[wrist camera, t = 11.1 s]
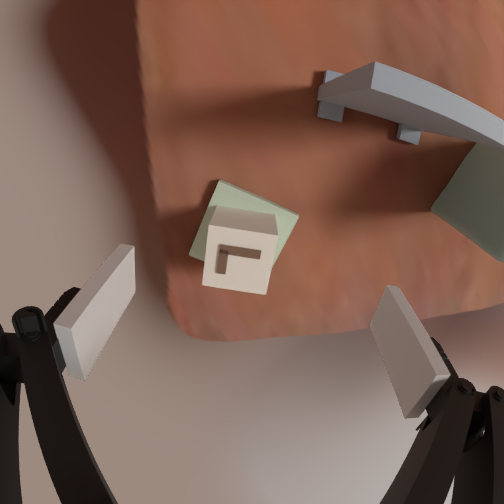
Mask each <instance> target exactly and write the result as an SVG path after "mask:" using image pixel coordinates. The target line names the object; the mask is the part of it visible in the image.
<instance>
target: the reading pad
mask: <svg viewBox="0 0 504 504" xmlns="http://www.w3.org/2000/svg"><path fill="white" fill-rule="evenodd" d="M217 205H219V206H226V207H233V208H239V209H246V210H252V211H258V212H264V213H270V214H275V217H276V223H277V229H278V241H277V245H276V250H275V255H274V260H273V264H272V267H273V265H274V263H275V261H276V259H277V257H278V256H279V254H280V252H281V250H282V248H283V246H284V244H285V242H286V241H287V239H288V237H289V235H290V233H291V231H292V229H293V227H294V226H295V224H296V222H297V220H298V218H299V215H298V213H296V212H293V211H291V210H289V209H287V208H285V207H283V206H280V205H278V204H276V203H274V202H271V201H269V200H267V199H265V198H262V197H260V196H258V195H256V194H253V193H251V192H249V191H247V190H244V189H242V188H240V187H237V186H235V185H233V184H230V183H228V182H226V181H223V180H221V179H220V180H219V182H218V184H217V187H216V189H215V191H214V194H213V196H212V198H211V201H210V203H209V206H208V208H207V210H206V213H205V215H204V218H203V220H202V222H201V225H200V227H199V230H198V232H197V235H196V237H195V240H194V242H193V245H192V247H191V250H190V252H189V255H190V256H192V257H194V258H197V259H199V260H202V261H204V262H205V254H206V245H207V236H208V227H209V223H210V221H211V219H212V216H213V214H214V212H215V209H216V207H217Z"/></svg>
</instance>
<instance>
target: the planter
mask: <svg viewBox="0 0 504 504" xmlns="http://www.w3.org/2000/svg"><path fill="white" fill-rule="evenodd" d="M431 212H433V213H434V214H435V215H437V216H438V217H440V218H441V219H443V220H444V221H446V222H447V223H448V224H450V225H451V226H453V227H454V228H455V229H457V230H458V231H459V232H461V233H462V234H464V235H465V236H466V237H468V238H469V239H470V240H472V241H473V242H474V243H475V244H477V245H478V246H479V247H481V248H482V249H483V250H485V251H486V252H487V253H488V254H490V255H491V256H492V257H494V258H495V259H496V260H498V261H501V262H504V150H503V149H499V148H496V147H492V146H488V145H484V144H481V143H477V142H476V144H475V145H474V146H473V148H472V149H471V150H470V152H469V153H468V154H467V156H466V157H465V158H464V160H463V162H462V163H461V165H460V166H459V168H458V169H457V171H456V172H455V174H454V175H453V177H452V178H451V180H450V181H449V183H448V184H447V186H446V187H445V189H444V190H443V191H442V193H441V194H440V195H439V197H438V198H437V199H436V201H435V202H434V203H433V205H432V206H431Z"/></svg>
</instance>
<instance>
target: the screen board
mask: <svg viewBox="0 0 504 504" xmlns="http://www.w3.org/2000/svg"><path fill="white" fill-rule="evenodd" d="M317 100H318V101H319V107H318V112H317V117H320V118H325V119H329V120H333V121H337V122H342V118H343V113H344V108H345V107H346V108H350V109H353V110H357V111H361V112H364V113H368V114H371V115H374V116H378V117H381V118H384V119H387V120H390V121H393V122H396V123H399V126H398V131H397V135H396V138H397V139H400V140H403V141H406V142H409V143H412V144H415V145H418V144H419V140H420V135H421V131H424V132H430V133H435V134H440V135H445V136H450V137H455V138H459V139H464V140H468V141H472V142H477V143H481V144H484V145H488V146H492V147H496V148H499V149H503V150H504V121H503V120H502V119H500V118H498V117H497V116H495V115H493V114H492V113H490V112H488V111H486V110H485V109H483V108H481V107H479V106H477V105H475V104H474V103H472V102H470V101H468V100H466V99H464V98H462V97H460V96H458V95H456V94H454V93H452V92H450V91H448V90H446V89H443V88H441V87H439V86H437V85H435V84H432V83H430V82H428V81H426V80H423V79H421V78H418V77H416V76H413V75H411V74H408V73H406V72H403V71H401V70H398V69H395V68H393V67H390V66H387V65H384V64H381V63H378V62H373V63H370V64H368V65H365V66H363V67H360V68H358V69H356V70H353V71H351V72H349V73H346V74H341V73H338V72H334V71H330V70H326V71H325V74H324V79H323V84H322V85H320V86H319V90H318V96H317Z"/></svg>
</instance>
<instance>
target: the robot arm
mask: <svg viewBox="0 0 504 504" xmlns="http://www.w3.org/2000/svg"><path fill="white" fill-rule="evenodd" d="M134 293H135V260H134V246H131V245H125V244H120V245H119V246H118V247H117V248H116V250H115V251H114V252H113V253H112V254H111V255H110V256H109V257H108V258H107V259H106V261H105V262H104V263H103V264H102V265H101V266H100V267H99V269H98V270H97V271H96V272H95V273H94V274H93V276H92V277H91V278H90V279H89V280H88V282H87V283H86V284H85V285H84V286H83V287H82V288H81V289H80V288H76V287H73V288H71V289H69V290H68V291H66V292H64V294H63V295H62V296H61V297H60V298H59V300H57V302H56V303H55V304H54V306H52V307H51V309H50V310H49V311H48V312H47V313H46V315H45V316H44V314H43V312H42V310H41V309H39V308H38V307H34V306H27V307H24V308H21V309H19V310H18V311H16V312H15V313H14V315H13V316H12V323H13V326H14V329H15V332H16V333H4V331H3V328H2V326H1V324H0V504H22V496H21V486H20V472H19V445H18V431H19V428H18V427H19V403H20V390H21V383H24V384H25V388H26V394H27V398H28V403H29V407H30V411H31V415H32V419H33V423H34V427H35V430H36V434H37V437H38V441H39V444H40V447H41V450H42V454H43V457H44V460H45V462H46V465H47V468H48V471H49V474H50V476H51V479H52V482H53V484H54V487H55V489H56V492H57V494H58V496H59V498H60V501H61V503H62V504H118V503H117V501H116V499H115V497H114V496H113V494H112V492H111V490H110V488H109V486H108V485H107V483H106V481H105V479H104V477H103V475H102V473H101V471H100V469H99V467H98V465H97V463H96V461H95V459H94V456H93V454H92V452H91V450H90V447H89V445H88V443H87V441H86V438H85V436H84V434H83V431H82V429H81V426H80V424H79V421H78V419H77V416H76V413H75V411H74V408H73V405H72V403H71V400H70V397H69V394H68V391H67V388H66V385H65V382H64V379H63V376H62V372H63V370H64V368H65V367H66V368H67V371H68V374H69V376H71V377H74V378H77V379H80V380H83V381H85V380H86V378H87V376H88V374H89V373H90V371H91V369H92V367H93V365H94V363H95V361H96V360H97V358H98V356H99V354H100V352H101V350H102V349H103V347H104V345H105V343H106V341H107V340H108V338H109V336H110V334H111V333H112V331H113V329H114V327H115V326H116V324H117V322H118V320H119V319H120V317H121V315H122V313H123V312H124V310H125V308H126V307H127V305H128V303H129V302H130V300H131V298H132V297H133V295H134ZM369 327H370V329H371V331H372V334H373V336H374V339H375V341H376V343H377V346H378V348H379V351H380V353H381V356H382V358H383V361H384V364H385V366H386V369H387V371H388V374H389V377H390V379H391V382H392V385H393V387H394V390H395V392H396V395H397V398H398V401H399V404H400V407H401V409H402V412H403V415H404V418H416V417H419V416H420V415H421V414H422V412H423V411H424V410H425V409H426V410H427V413H428V416H427V417H426V418H425V419H424V420H423V422H422V423H421V424H420V425H419V426H418V427H417V429H416V430H418V429H419V428H420V430H419V432H418V434H417V437H416V439H415V441H414V443H413V445H412V447H411V449H410V451H409V453H408V455H407V457H406V459H405V461H404V463H403V464H402V466H401V468H400V470H399V472H398V474H397V475H396V477H395V479H394V481H393V483H392V484H391V486H390V488H389V489H388V491H387V493H386V494H385V496H384V498H383V499H382V501H381V502H380V504H444V502H445V499H446V497H447V494H448V491H449V489H450V486H451V484H452V481H453V478H454V476H455V478H454V487H453V495H452V502H451V504H504V390H503V389H502V388H500V387H498V386H492V387H490V389H489V390H488V391H487V392H486V393H482V392H478V391H476V389H475V387H474V386H473V384H472V383H471V382H469V381H468V380H466V379H464V378H459V377H458V375H457V373H456V372H455V370H454V368H453V366H452V364H451V363H450V361H449V359H447V356H446V354H445V353H444V351H443V349H442V347H441V346H440V344H439V343H438V342H437V341H436V340H435V339H434V338H432V337H429V335H428V334H427V332H426V330H425V328H424V327H423V325H422V323H421V322H420V320H419V319H418V317H417V315H416V314H415V312H414V310H413V309H412V307H411V306H410V304H409V303H408V301H407V299H406V298H405V296H404V295H403V293H402V292H401V290H400V289H399V287H397V286H390V285H386V287H385V290H384V292H383V295H382V297H381V300H380V302H379V304H378V307H377V309H376V311H375V314H374V316H373V318H372V321H371V323H370V325H369ZM484 430H485V432H484V435H483V431H484Z"/></svg>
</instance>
